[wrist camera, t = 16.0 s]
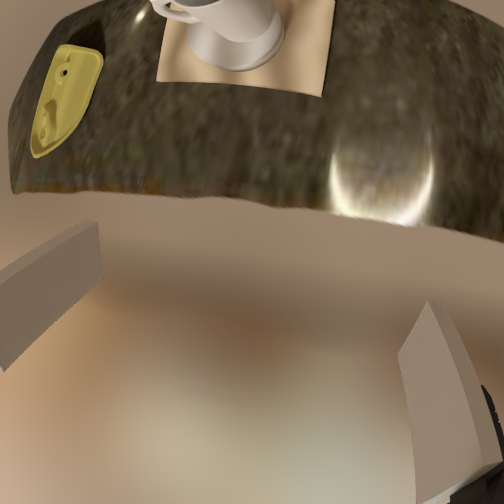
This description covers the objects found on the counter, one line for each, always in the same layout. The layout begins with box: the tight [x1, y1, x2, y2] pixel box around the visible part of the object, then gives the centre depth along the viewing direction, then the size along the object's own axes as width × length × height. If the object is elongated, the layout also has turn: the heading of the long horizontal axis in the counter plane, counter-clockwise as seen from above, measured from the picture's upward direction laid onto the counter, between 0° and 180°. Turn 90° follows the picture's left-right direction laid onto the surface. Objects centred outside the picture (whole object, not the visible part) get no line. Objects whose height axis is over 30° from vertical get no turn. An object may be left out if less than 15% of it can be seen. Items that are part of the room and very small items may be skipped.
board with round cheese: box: [156, 0, 335, 97], centre depth 27 cm, size 22×14×6 cm, turn 82°
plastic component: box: [31, 44, 104, 158], centre depth 36 cm, size 20×7×10 cm
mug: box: [150, 0, 271, 42], centre depth 19 cm, size 10×7×12 cm, turn 92°
